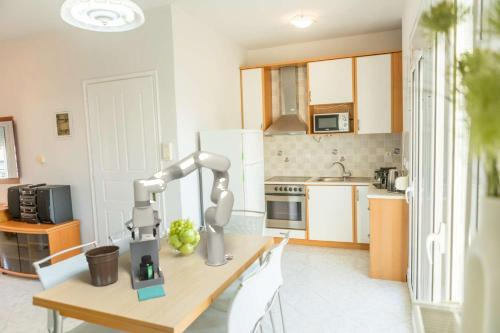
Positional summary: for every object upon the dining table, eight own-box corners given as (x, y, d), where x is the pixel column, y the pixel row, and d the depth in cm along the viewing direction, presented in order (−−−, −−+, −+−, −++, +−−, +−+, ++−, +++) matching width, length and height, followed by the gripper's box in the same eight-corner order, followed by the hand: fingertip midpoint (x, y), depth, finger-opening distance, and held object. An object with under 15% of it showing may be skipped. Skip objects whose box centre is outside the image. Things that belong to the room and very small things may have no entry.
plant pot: (82, 290, 158) (79, 257, 157) (91, 277, 174) (89, 247, 173) (118, 286, 161) (116, 253, 160) (124, 273, 177) (122, 243, 176)
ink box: (139, 261, 195) (137, 236, 194) (142, 258, 200) (141, 234, 199) (153, 261, 194) (151, 236, 193) (156, 258, 199) (154, 233, 198)
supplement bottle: (154, 281, 165) (152, 258, 164) (139, 283, 164) (138, 259, 163) (155, 276, 172) (153, 253, 171) (141, 278, 170) (139, 255, 169)
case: (159, 269, 180) (157, 239, 179) (164, 283, 162) (162, 249, 161) (131, 274, 175) (129, 242, 174) (134, 289, 157) (131, 254, 155)
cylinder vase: (135, 252, 211) (133, 213, 209) (148, 246, 222) (146, 209, 220) (151, 254, 206) (149, 214, 204) (164, 248, 218) (161, 210, 216)
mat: (162, 286, 159) (161, 284, 159) (165, 295, 149) (165, 294, 149) (137, 291, 155) (137, 289, 155) (139, 301, 145) (139, 299, 145)
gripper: (159, 201, 171) (161, 233, 173) (123, 204, 165) (125, 238, 166) (161, 203, 164) (163, 237, 166) (124, 206, 158) (125, 242, 159)
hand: (144, 237), depth 166 cm, fingers open, 9 cm apart
